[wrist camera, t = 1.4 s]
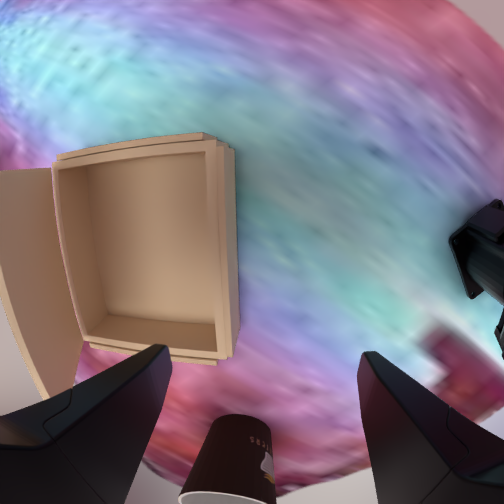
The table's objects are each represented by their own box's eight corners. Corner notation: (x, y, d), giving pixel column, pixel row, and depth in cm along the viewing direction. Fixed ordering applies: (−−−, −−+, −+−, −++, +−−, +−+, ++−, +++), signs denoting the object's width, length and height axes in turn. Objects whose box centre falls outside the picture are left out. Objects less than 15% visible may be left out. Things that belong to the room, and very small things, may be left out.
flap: (51, 167, 16) (-13, 172, 8) (83, 341, 20) (65, 425, 12) (43, 169, 16) (-23, 175, 7) (76, 342, 19) (56, 425, 11)
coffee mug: (197, 402, 26) (169, 483, 17) (284, 410, 26) (281, 497, 16) (207, 460, 30) (190, 524, 20) (276, 467, 29) (271, 534, 19)
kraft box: (235, 137, 19) (223, 130, 15) (241, 334, 23) (233, 366, 19) (83, 154, 20) (49, 156, 16) (107, 321, 24) (84, 346, 20)
